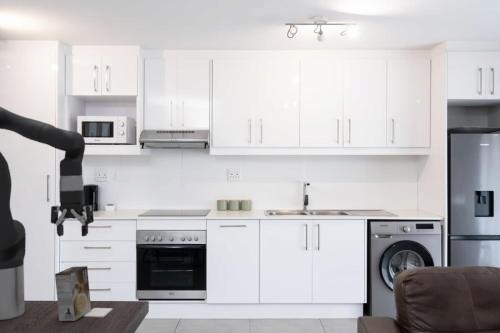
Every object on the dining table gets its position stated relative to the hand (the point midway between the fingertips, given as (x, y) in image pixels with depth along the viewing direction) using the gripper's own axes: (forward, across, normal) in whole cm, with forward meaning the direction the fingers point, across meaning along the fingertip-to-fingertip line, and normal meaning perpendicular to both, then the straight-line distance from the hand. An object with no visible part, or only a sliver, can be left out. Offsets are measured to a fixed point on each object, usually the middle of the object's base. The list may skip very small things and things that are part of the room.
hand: (72, 235), depth 131 cm
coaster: (+28, +7, +4) cm, 29 cm away
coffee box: (+28, 0, 0) cm, 28 cm away
